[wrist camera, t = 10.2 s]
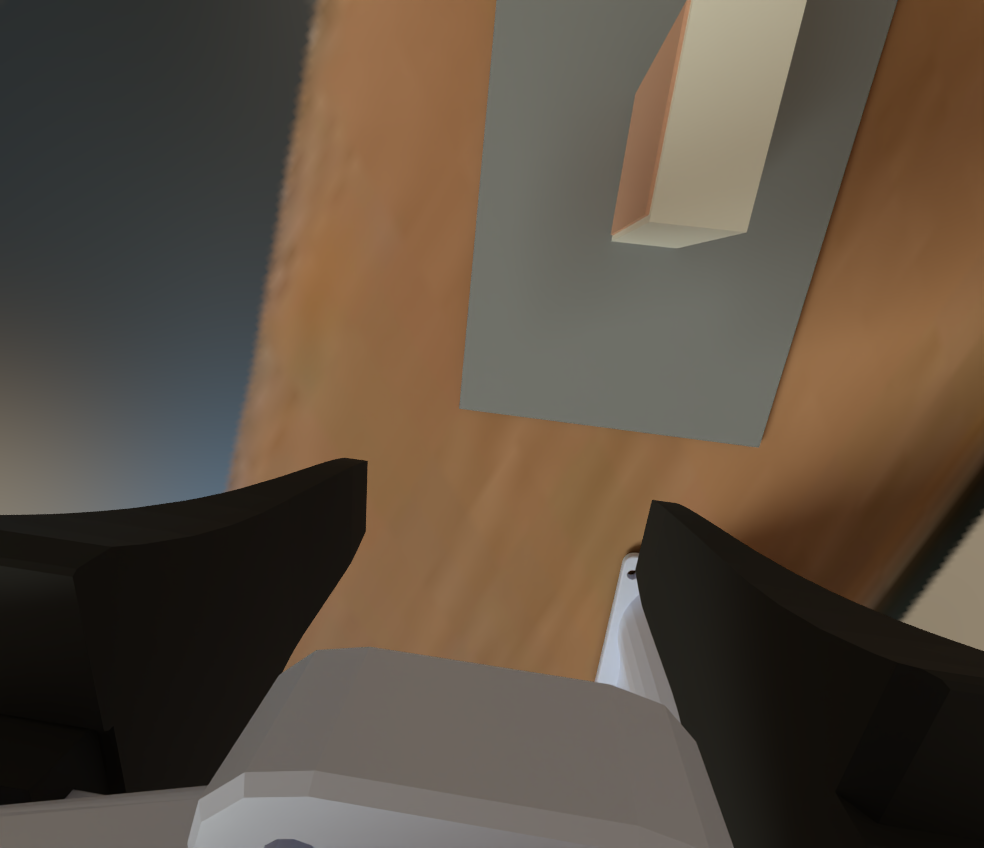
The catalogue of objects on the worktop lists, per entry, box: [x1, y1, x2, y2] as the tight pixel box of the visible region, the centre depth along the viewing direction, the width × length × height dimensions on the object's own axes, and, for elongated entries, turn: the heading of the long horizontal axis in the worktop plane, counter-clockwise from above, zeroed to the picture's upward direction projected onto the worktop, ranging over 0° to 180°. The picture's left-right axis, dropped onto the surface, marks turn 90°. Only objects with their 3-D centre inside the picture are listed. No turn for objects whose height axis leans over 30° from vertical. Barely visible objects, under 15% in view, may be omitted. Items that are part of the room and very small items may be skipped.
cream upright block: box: [611, 0, 807, 248], centre depth 14 cm, size 3×5×6 cm, turn 174°
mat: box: [459, 0, 898, 447], centre depth 17 cm, size 18×13×1 cm
